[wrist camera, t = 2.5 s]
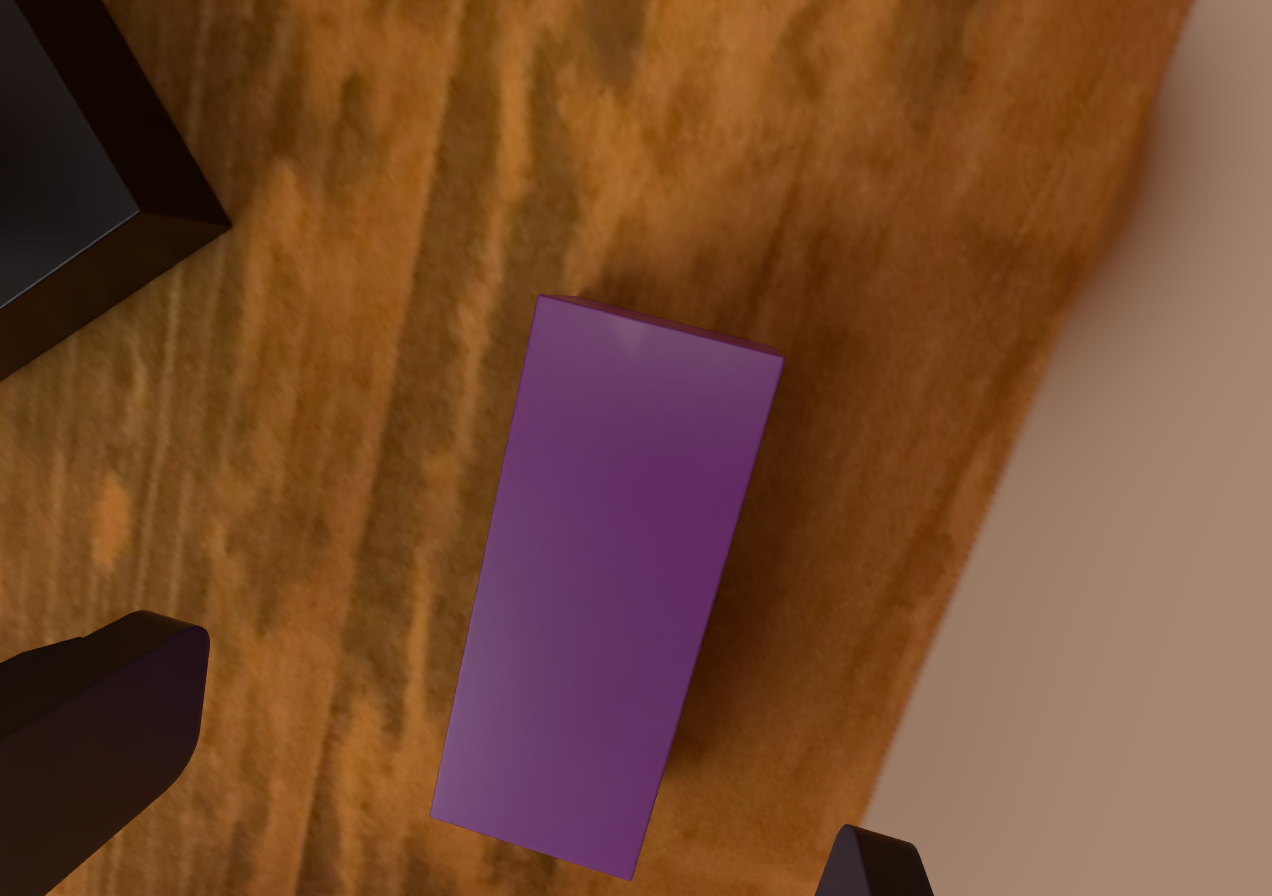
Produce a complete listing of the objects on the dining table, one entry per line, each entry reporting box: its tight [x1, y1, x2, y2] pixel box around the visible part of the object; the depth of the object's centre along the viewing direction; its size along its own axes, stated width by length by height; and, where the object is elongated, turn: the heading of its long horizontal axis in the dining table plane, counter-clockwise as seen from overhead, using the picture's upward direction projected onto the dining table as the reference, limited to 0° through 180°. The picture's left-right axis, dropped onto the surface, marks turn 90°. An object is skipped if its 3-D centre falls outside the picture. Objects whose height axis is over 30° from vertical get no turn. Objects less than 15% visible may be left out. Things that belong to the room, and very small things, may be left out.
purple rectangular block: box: [430, 294, 785, 881], centre depth 15 cm, size 11×4×3 cm, turn 166°
